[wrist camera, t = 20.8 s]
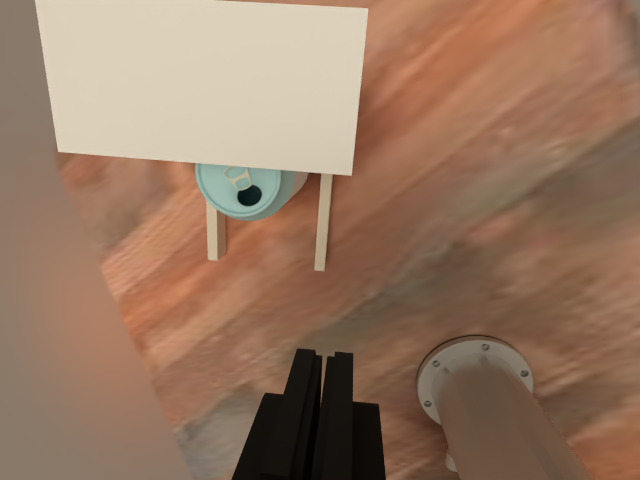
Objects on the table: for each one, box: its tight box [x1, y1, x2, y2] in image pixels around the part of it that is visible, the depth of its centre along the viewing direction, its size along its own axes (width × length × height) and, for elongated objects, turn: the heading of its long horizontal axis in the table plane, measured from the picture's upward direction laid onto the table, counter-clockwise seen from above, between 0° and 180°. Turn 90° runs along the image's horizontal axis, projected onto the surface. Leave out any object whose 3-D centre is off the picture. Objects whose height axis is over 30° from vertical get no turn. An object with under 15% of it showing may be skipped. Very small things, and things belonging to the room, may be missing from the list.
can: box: [195, 163, 309, 221], centre depth 27 cm, size 7×7×12 cm
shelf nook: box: [35, 0, 368, 271], centre depth 25 cm, size 18×15×17 cm
